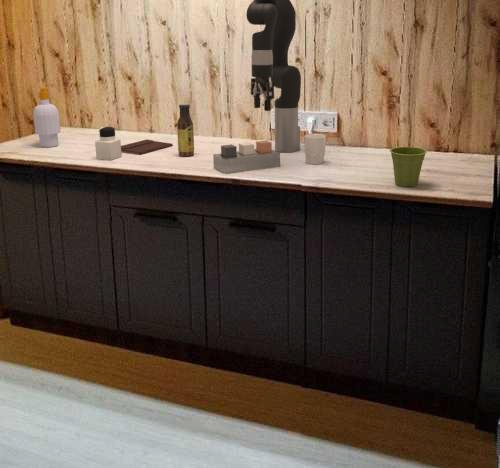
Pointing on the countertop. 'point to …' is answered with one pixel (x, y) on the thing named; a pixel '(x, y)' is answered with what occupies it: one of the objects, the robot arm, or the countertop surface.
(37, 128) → the soap bottle
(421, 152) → the plant pot
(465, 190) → the countertop surface
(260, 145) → the terracotta key
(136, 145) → the notebook
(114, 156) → the medicine bottle
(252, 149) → the off-white cube
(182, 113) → the sauce bottle
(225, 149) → the charcoal key
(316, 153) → the grey cup
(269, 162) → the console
